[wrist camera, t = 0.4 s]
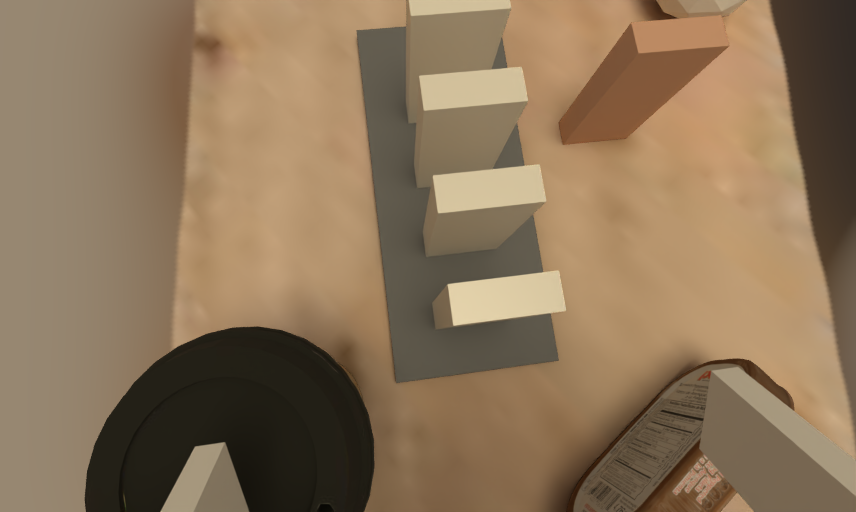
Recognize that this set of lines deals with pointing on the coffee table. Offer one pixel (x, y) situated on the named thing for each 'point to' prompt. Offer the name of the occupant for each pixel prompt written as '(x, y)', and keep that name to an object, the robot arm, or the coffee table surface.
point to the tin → (665, 453)
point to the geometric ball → (699, 7)
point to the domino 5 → (642, 76)
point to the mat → (404, 244)
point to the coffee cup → (239, 426)
